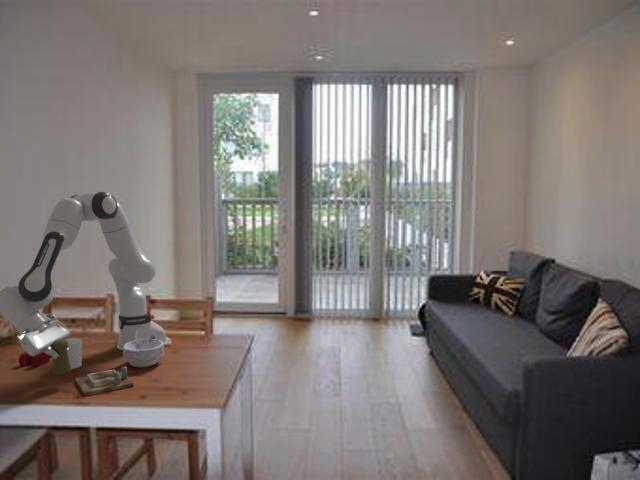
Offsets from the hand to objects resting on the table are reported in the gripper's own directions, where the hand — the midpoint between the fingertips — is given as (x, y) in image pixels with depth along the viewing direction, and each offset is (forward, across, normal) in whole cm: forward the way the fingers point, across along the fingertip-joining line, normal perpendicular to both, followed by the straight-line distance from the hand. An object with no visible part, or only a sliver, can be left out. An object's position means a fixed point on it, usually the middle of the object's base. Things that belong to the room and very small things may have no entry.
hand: (62, 354), depth 193 cm
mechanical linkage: (-9, +24, +26) cm, 36 cm away
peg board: (+17, +3, -1) cm, 18 cm away
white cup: (+2, +19, +14) cm, 24 cm away
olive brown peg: (+4, 0, +5) cm, 6 cm away
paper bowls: (+21, +26, -4) cm, 33 cm away
